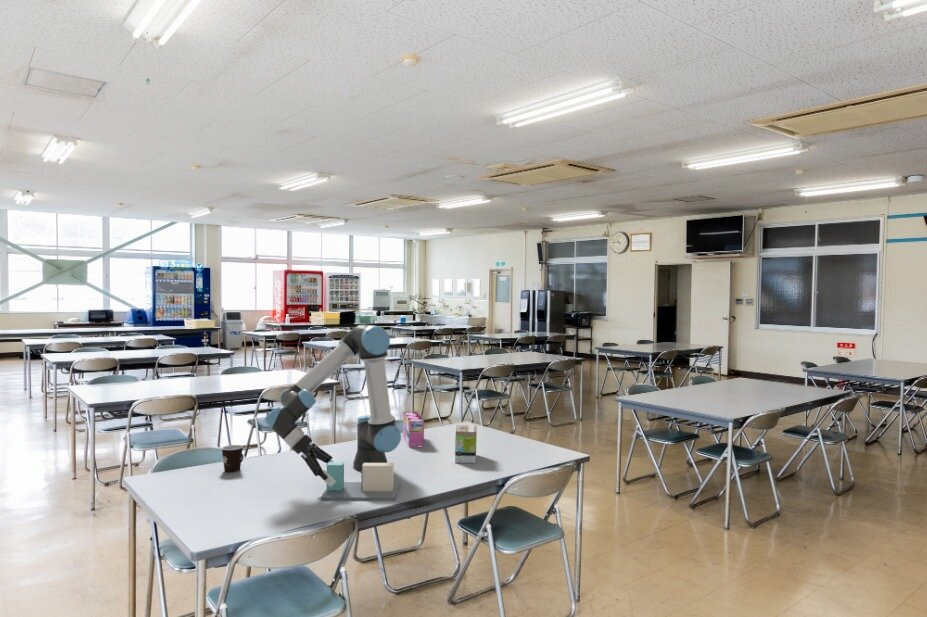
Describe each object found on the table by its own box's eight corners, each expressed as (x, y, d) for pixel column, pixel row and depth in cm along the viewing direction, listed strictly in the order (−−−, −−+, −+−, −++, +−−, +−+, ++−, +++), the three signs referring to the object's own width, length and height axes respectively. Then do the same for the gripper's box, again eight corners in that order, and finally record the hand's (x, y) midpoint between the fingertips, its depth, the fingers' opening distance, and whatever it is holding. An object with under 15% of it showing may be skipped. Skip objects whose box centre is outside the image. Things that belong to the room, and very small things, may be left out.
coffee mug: (220, 468, 261) (220, 446, 260) (241, 466, 265) (241, 444, 264) (223, 476, 250) (223, 452, 250) (244, 473, 254) (244, 450, 254)
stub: (326, 490, 230) (326, 465, 230) (328, 487, 234) (328, 462, 234) (342, 490, 230) (342, 465, 230) (343, 487, 234) (344, 462, 234)
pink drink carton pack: (402, 436, 322) (402, 411, 322) (416, 435, 324) (416, 411, 324) (408, 447, 299) (409, 421, 299) (424, 446, 301) (424, 420, 301)
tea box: (476, 463, 272) (476, 431, 272) (454, 463, 273) (454, 431, 272) (476, 454, 287) (476, 424, 287) (455, 454, 288) (455, 424, 287)
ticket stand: (320, 499, 223) (320, 470, 223) (330, 484, 241) (330, 457, 241) (394, 500, 223) (395, 471, 223) (399, 484, 241) (399, 458, 241)
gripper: (296, 441, 219) (337, 482, 219) (312, 426, 244) (349, 462, 244) (282, 456, 219) (322, 496, 219) (300, 439, 244) (336, 475, 244)
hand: (336, 478), depth 232 cm, fingers open, 13 cm apart
